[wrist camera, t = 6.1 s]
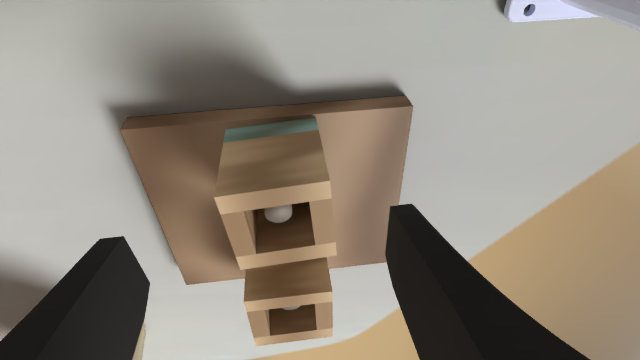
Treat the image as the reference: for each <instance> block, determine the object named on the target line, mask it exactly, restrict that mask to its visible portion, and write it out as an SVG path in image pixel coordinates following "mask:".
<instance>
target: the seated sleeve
mask: <svg viewBox="0 0 640 360" xmlns="http://www.w3.org/2000/svg"><path fill="white" fill-rule="evenodd" d="M244 304H245V308H246V311H247V315H248V319H249V322H250V326H251V329H252V333H253V337H254V340H255V344H256V346H261V345H268V344H276V343H284V342H292V341H300V340H308V339H315V338H323V337H331V336H333V316H332V287H331V281H330V275H329V269H328V263H327V257H323V258H316V259H310V260H303V261H297V262H290V263H283V264H277V265H270V266H263V267H257V268H250V269H246V271H245V290H244ZM293 306H300V307H299V308H297V309H294V310H285V309H283V308H284V307H293Z"/></svg>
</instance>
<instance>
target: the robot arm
mask: <svg viewBox="0 0 640 360" xmlns="http://www.w3.org/2000/svg"><path fill="white" fill-rule="evenodd" d="M529 4H530V9H529V11H528V12H526V13H525V14H524V9H525V7H526V6H527V5H529ZM504 16H505V18H506V19H507V20H509V21H511V22H527V21H542V20H558V19H573V18H589V17H603V18H605V19H608V20H611V21H613V22H616V23H619V24H622V25H624V26H627V27H630V28H632V29H635V30H638V31H640V0H507V1H506V5H505V8H504ZM385 256H386V261H387V265H388V269H389V273H390V277H391V281H392V285H393V288H394V291H395V294H396V297H397V300H398V302H399V305H400V308H401V310H402V313H403V316H404V318H405V321H406V324H407V326H408V329H409V332H410V334H411V337H412V340H413V342H414V345H415V348H416V350H417V353H418V356H419V358H420V360H590V359H588V358H587V357H586V356H584V355H583V354H581V353H580V352H578V351H577V350H575V349H574V348H572V347H571V346H569V345H568V344H566V343H565V342H564V341H562V340H561V339H559V338H558V337H557V336H555V335H554V334H553V333H551V332H550V331H549V330H547V329H546V328H545V327H543V326H542V325H541V324H539V323H538V322H537V321H535V320H534V319H533V318H532V317H531V316H529V315H528V314H527V313H525V312H524V311H523V310H521V309H520V308H519V307H518V306H517V305H515V304H514V303H513V302H512V301H511V300H509V299H508V298H507V297H506V296H505V295H504V294H502V293H501V292H500V291H499V290H498V289H497V288H496V287H494V286H493V285H492V284H491V283H490V282H489V281H488V280H487V279H486V278H484V277H483V276H482V275H481V274H480V273H479V272H478V271H477V270H476V269H474V267H472V265H471V264H469V263H468V262H467V261H466V260H465V259H464V258H463V257H462V256H461V255H460V254H459V253H458V252H457V251H456V250H455V249H454V248H453V247H452V246H451V245H450V244H449V243H448V242H447V241H446V240H445V239H444V238H443V236H442V235H441V234H440V233H439V232H438V231H437V230H436V229H435V228H434V227H433V226H432V225H431V224H430V223H429V222H428V220H427V219H426V218H425V217H424V216H423V215H422V214H421V213H420V212H419V211H418V209H417V208H416V207H415V206H414V205H412V204H406V205H397V206H390V212H389V221H388V231H387V240H386V250H385ZM149 286H150V282H149V280H148V279H147V277H146V275H145V273H144V271H143V270H142V268H141V266H140V264H139V263H138V261H137V259H136V257H135V256H134V254H133V252H132V250H131V248H130V247H129V245H128V243H127V241H126V240H125V238H124V236H122V237H113V238H104V239H100V240H99V241H97V242H96V243H95V244H94V245H93V246H92V248H91V249H90V250H89V251H88V252H87V253H86V254H85V255H84V256H83V257H82V258H81V259H80V260H79V261H78V262H77V263H76V264H75V265H74V267H73V268H72V269H71V270H70V271H69V272H68V273H67V274H66V275H65V276H64V277H63V278H62V279H61V280H60V282H59V283H58V284H57V285H56V286H55V287H54V288H53V289H52V290H51V291H50V292H49V293H48V294H47V295H46V296H45V297H44V298H43V299H42V300H41V301H40V302H39V303H38V305H37V306H36V307H35V308H34V309H33V310H32V311H31V312H30V313H29V314H28V315H27V316H26V317H25V318H24V319H23V320H22V321H21V322H20V323H19V324H18V325H17V326H16V327H15V328H14V329H12V330H11V331H10V332H9V333H8V334H7V335H6V336H5V337H4V338H3V339H2V340H1V341H0V360H132V359H133V356H134V353H135V349H136V346H137V342H138V339H139V336H140V332H141V329H142V325H143V322H144V317H145V312H146V306H147V300H148V293H149Z"/></svg>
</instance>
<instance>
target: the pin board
mask: <svg viewBox="0 0 640 360" xmlns="http://www.w3.org/2000/svg"><path fill="white" fill-rule="evenodd" d="M412 111H413V105H412V104H411V102H410V101H409V99H408V98H407V97H406V96H394V97H382V98H369V99H356V100H344V101H331V102H318V103H305V104H293V105H280V106H267V107H255V108H242V109H229V110H216V111H204V112H191V113H178V114H165V115H153V116H140V117H127V119H126V121H125V122H124V124H123V126H122V127H121V129H120V131H121V134H122V136H123V138H124V141H125V143H126V145H127V148H128V150H129V152H130V155H131V157H132V159H133V162H134V164H135V166H136V169H137V171H138V173H139V176H140V178H141V180H142V183H143V185H144V187H145V190H146V192H147V194H148V197H149V199H150V201H151V204H152V206H153V208H154V211H155V213H156V215H157V218H158V220H159V222H160V225H161V227H162V229H163V232H164V234H165V236H166V239H167V241H168V243H169V246H170V248H171V250H172V253H173V255H174V257H175V260H176V262H177V264H178V267H179V269H180V271H181V274H182V276H183V278H184V281H185V283H186V285H190V284H199V283H208V282H216V281H225V280H234V279H243V278H245V271H246V269H243V270H240V267H239V265H238V262H237V259H236V256H235V254H234V251H233V248H232V245H231V243H230V240H229V237H228V234H227V232H226V229H225V226H224V223H223V221H222V218H221V215H220V212H219V210H218V207H217V204H216V201H215V199H214V194H215V189H216V183H217V177H218V171H219V165H220V159H221V153H222V147H223V141H224V135H225V129H232V128H240V127H247V126H254V125H262V124H269V123H276V122H284V121H291V120H298V119H306V118H313V117H316V120H317V124H318V129H319V133H320V138H321V142H322V147H323V151H324V156H325V160H326V165H327V169H328V174H329V178H330V185H331V196H332V207H333V218H334V229H335V240H336V251H337V255H336V256H330V257H327V263H328V269H331V268H340V267H349V266H357V265H366V264H375V263H384V262H387V261H386V256H385V250H386V240H387V231H388V221H389V212H390V206H397V205H399V199H400V192H401V185H402V179H403V172H404V165H405V158H406V151H407V145H408V138H409V131H410V124H411V117H412ZM264 213H265V217H266V218H267V219H268V220H269V221H271V222H274V223H281V222H285V221H287V220H288V219H289V218H290V217H291V215H292V204H289V205H283V206H276V207H269V208H264ZM299 307H300V306H293V307H284V308H283V309H285V310H294V309H297V308H299Z"/></svg>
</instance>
